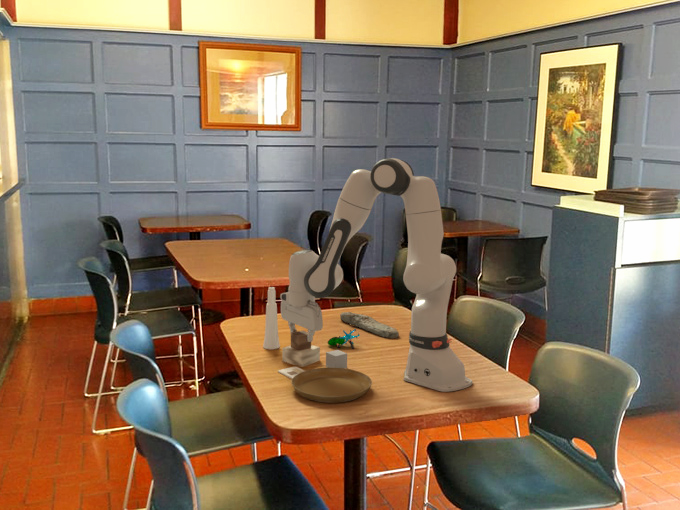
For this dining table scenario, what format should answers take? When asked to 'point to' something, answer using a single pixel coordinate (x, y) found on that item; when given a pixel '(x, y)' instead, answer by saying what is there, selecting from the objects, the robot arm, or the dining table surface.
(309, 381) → the plant saucer
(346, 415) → the dining table surface
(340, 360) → the grey plastic cube
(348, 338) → the stick construction toy
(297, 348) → the walnut cube
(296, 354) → the birch base block
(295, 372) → the card
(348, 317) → the elongated rock
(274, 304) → the cosmetic bottle
